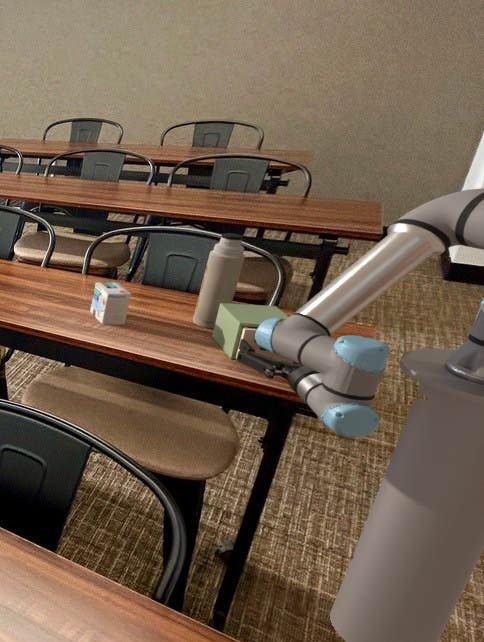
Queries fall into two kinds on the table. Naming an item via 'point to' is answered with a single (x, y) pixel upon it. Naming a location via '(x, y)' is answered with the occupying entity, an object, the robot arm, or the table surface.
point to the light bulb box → (110, 303)
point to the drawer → (249, 336)
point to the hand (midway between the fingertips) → (274, 346)
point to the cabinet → (240, 323)
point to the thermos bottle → (219, 279)
